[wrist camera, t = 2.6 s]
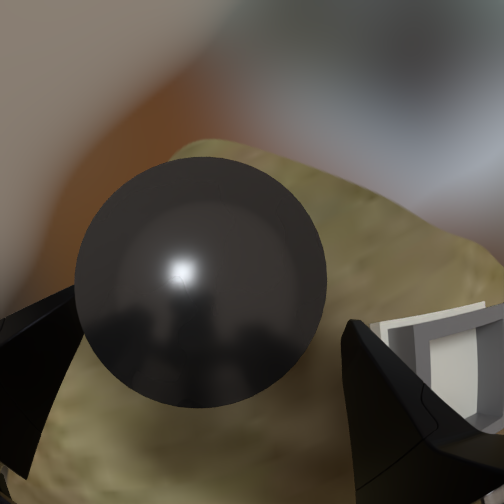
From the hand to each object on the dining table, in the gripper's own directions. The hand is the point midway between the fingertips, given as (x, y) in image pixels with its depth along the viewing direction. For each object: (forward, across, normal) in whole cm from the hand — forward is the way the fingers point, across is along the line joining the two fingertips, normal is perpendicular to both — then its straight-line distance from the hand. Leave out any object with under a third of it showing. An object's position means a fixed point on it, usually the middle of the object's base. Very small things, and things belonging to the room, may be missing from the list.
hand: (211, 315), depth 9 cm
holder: (+4, -15, +8) cm, 17 cm away
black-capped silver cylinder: (+6, 0, +6) cm, 8 cm away
